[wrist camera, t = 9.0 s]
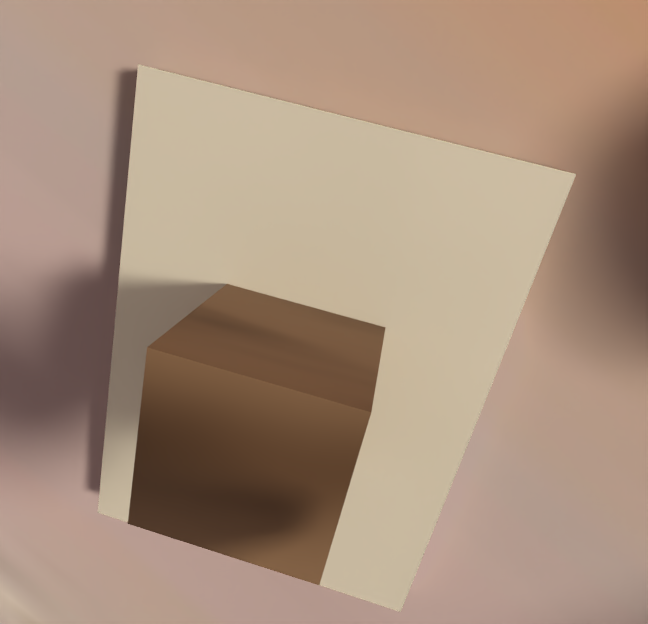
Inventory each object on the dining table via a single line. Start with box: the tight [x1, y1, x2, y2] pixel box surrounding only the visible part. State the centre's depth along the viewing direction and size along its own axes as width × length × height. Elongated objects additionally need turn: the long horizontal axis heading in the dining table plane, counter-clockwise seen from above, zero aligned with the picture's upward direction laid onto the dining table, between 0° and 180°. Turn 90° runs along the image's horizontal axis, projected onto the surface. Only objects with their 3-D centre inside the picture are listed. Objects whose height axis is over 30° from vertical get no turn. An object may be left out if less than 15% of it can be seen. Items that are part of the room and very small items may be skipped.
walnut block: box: [128, 284, 386, 585], centre depth 14 cm, size 5×5×5 cm
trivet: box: [98, 64, 576, 612], centre depth 17 cm, size 16×12×1 cm
